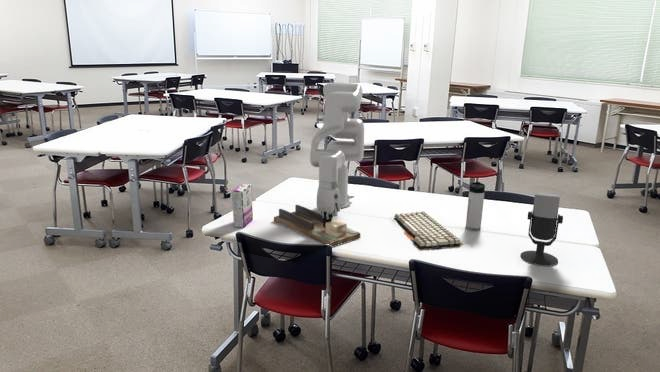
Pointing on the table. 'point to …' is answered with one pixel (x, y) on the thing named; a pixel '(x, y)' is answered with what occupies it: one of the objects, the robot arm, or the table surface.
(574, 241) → the table surface
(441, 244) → the mechanical keyboard
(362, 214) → the table surface
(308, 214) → the runway board
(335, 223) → the maple block
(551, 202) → the microphone
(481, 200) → the travel mug
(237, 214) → the candy bar box
